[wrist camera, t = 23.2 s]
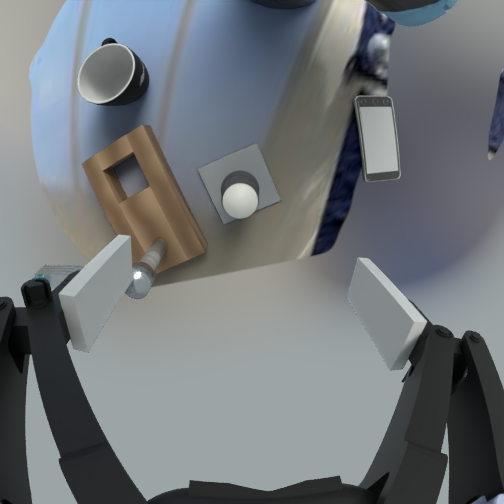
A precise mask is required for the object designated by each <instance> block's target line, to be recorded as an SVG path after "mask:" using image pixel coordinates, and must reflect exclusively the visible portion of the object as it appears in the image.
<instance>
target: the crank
mask: <svg viewBox="0 0 504 504" xmlns="http://www.w3.org/2000/svg"><path fill="white" fill-rule="evenodd" d="M84 267H85V266H66V265H44V266H43V267H42V268H41V269H40V270H39V271H37V272H36V273H35V277H34V278H33V279H35V278H45V279H47V280H48V281H49V282H50V287H51V288H56V287H57V286H58V285H60V283H61V282H62V281H64V279H65V278H66V277H67V276H68V275H69V274H71V273H73V272H75V271H77V270H80V271H81V270H82V269H83V268H84ZM132 271H133V280H132V282H131V283H130V285H129V286H128V288H127V290H126V291H125V293H126V294H127V295H128V296H129V297H131V298H134V299H141V298H144V297H145V296H146V295H147V294H148V291H149V290H150V288H151V286H152V284H153V282H154V280H155V272H154V270H153V268H152V267H151V266H150V265H149V264H147V263H145V262H142V261H138V262H135V263H133V264H132Z"/></svg>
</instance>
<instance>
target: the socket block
mask: <svg viewBox="0 0 504 504" xmlns="http://www.w3.org/2000/svg"><path fill="white" fill-rule="evenodd" d="M133 155H135V156H136V158H137V160H138V163H139V165H140V167H141V169H142V171H143V173H144V175H145V177H146V179H147V181H148V183H149V185H150V187H148V188H146V189H144V190H142V191H140V192H139V193H137V194H135V195H133V196H131V197H130V198H127V196H126V194H125V192H124V190H123V188H122V186H121V184H120V182H119V180H118V178H117V176H116V173H115V171H114V169H113V167H115V166H117V165H118V164H120V163H121V162H123V161H125V160H126V159H128V158H130V157H131V156H133ZM82 166H83V168H84V170H85V173H86V175H87V177H88V179H89V181H90V183H91V185H92V188H93V190H94V192H95V194H96V196H97V198H98V200H99V202H100V204H101V206H102V208H103V210H104V212H105V214H106V216H107V218H108V219H109V221H110V223H111V225H112V227H113V229H114V231H115V232H116V234H117V236H118V235H127V236H131V254H132V262H133V263H135V262H138V261H142V262H145V263H147V264H149V265H150V266H151V267H152V268H153V270H154V272H155V274H157V273H160V272H162V271H164V270H166V269H169V268H171V267H173V266H176V265H178V264H180V263H182V262H185V261H187V260H189V259H192V258H194V257H196V256H199V255H201V254H203V253H205V251H206V247H207V242H206V240H205V238H204V236H203V234H202V232H201V230H200V228H199V226H198V224H197V222H196V220H195V218H194V216H193V214H192V212H191V210H190V208H189V206H188V204H187V202H186V200H185V198H184V196H183V194H182V192H181V190H180V188H179V186H178V184H177V181H176V179H175V177H174V175H173V173H172V171H171V169H170V167H169V165H168V163H167V161H166V158H165V156H164V154H163V152H162V150H161V148H160V146H159V144H158V141H157V139H156V137H155V135H154V133H153V131H152V128H151V126H149V125H141V126H139V127H138V128H136V129H134V130H132V131H131V132H129V133H127V134H126V135H124V136H123V137H121V138H119V139H118V140H116V141H115V142H113V143H112V144H110V145H108V146H107V147H105V148H104V149H102V150H101V151H99V152H98V153H97V154H95V155H94V156H92V157H91V158H89V159H88V160H86V161H85V162H84V163H82Z"/></svg>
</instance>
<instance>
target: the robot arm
mask: <svg viewBox="0 0 504 504" xmlns="http://www.w3.org/2000/svg"><path fill="white" fill-rule="evenodd" d="M251 1H253V2H255V3H258V4H260V5H263V6H267V7H271V8H278V9H292V8H298V7H302V6H305V5H307V4H309V3H311V2H312V1H314V0H251ZM365 1H366V2H368V3H369V4H371V5H372V6H373V7H374V9H376V10H377V11H378V12H380V13H383V14H385V15H386V16H388V17H389V18H390V19H392V20H393V21H395V22H396V23H398V24H400V25H404V26H408V27H413V26H419V25H423V24H426V23H428V22H431V21H433V20H435V19H437V18H439V17H440V16H442V15H443V14H445V13H446V12H445V11H446V10H448V9H451V8H452V7H453V6H454V5H455V3H456V2H457V0H365ZM132 280H133V271H132V254H131V236H127V235H118V236H117V237H116V238H115V239H113V240H112V241H111V242H110V243H109V244H108V245H107V246H106V247H105V248H104V249H103V250H102V251H101V252H100V253H98V254H97V255H96V256H95V257H94V258H93V259H92V260H91V261H90V262H89V263H88V264H87V265H86V266H85V267H84V268H83V269H82V270H81V271H80V270H77V271H75V272H73V273H71V274H69V275H68V276H67V277H66V278H65V279H64V281H62V282H61V283H60V285H58V286H57V287H56V288H55V289H54V290H53V291H51V287H50V282H49V281H48V280H47V279H45V278H35V279H32V280H29V281H28V282H25V283H24V284H23V285H22V287H21V292H22V296H23V299H24V303H25V306H26V307H17V308H16V307H14V304H13V301H12V299H11V298H9V297H0V504H32V499H31V491H30V485H29V478H28V469H27V457H26V440H25V405H26V386H27V385H26V384H27V375H28V365H29V357H30V354H31V355H32V358H33V364H34V368H35V373H36V378H37V382H38V387H39V391H40V394H41V398H42V402H43V406H44V409H45V413H46V416H47V419H48V422H49V425H50V428H51V431H52V434H53V437H54V440H55V442H56V445H57V448H58V450H59V453H60V456H61V458H60V459H59V464H60V467H61V470H62V472H63V474H64V477H65V479H66V481H67V483H68V485H69V487H70V489H71V491H72V493H73V495H74V497H75V499H76V501H77V503H78V504H436V502H437V499H438V496H439V493H440V489H441V485H442V482H443V478H444V475H445V471H446V467H447V462H448V456H447V455H446V454H443V453H441V448H442V444H443V439H444V434H445V429H446V423H447V428H448V443H449V504H504V389H503V386H502V383H501V381H500V378H499V375H498V372H497V370H496V367H495V365H494V362H493V360H492V357H491V355H490V353H489V350H488V348H487V345H486V343H485V341H484V339H483V338H482V337H481V336H480V334H479V333H477V332H473V331H466V332H465V334H464V335H463V337H462V339H459V338H454V336H453V334H452V332H451V331H450V330H448V329H447V328H445V327H443V326H440V325H432V323H431V322H430V321H429V320H428V319H427V318H426V317H425V316H424V314H423V313H422V312H421V311H420V310H419V309H418V308H417V307H416V305H415V304H414V303H413V302H411V301H410V300H409V299H407V298H406V297H405V296H404V295H403V294H402V293H401V292H400V291H399V290H398V289H397V287H396V286H395V285H394V284H393V283H392V282H391V281H390V280H389V279H388V278H387V277H386V276H385V275H384V274H383V273H382V272H381V271H380V270H379V269H378V268H377V267H376V265H375V264H374V263H373V262H372V261H370V259H367V258H358V259H357V263H356V267H355V270H354V273H353V277H352V281H351V284H350V287H349V290H348V294H347V299H348V301H349V303H350V304H351V306H352V307H353V309H354V310H355V312H356V314H357V316H358V317H359V319H360V320H361V322H362V324H363V325H364V327H365V329H366V330H367V332H368V333H369V335H370V337H371V338H372V340H373V342H374V344H375V345H376V347H377V349H378V351H379V352H380V354H381V356H382V357H383V359H384V361H385V362H386V364H387V366H388V368H389V370H390V371H391V370H399V369H403V368H404V366H405V364H406V362H407V360H408V359H409V361H410V362H411V364H412V365H411V367H410V368H409V370H408V372H407V373H406V375H405V377H404V378H403V380H402V382H404V381H405V383H404V386H403V389H402V392H401V395H400V398H399V400H398V403H397V406H396V409H395V411H394V414H393V417H392V419H391V422H390V424H389V427H388V429H387V432H386V434H385V436H384V439H383V441H382V443H381V445H380V448H379V450H378V452H377V454H376V456H375V458H374V460H373V462H372V465H371V466H370V468H369V470H368V472H367V474H366V476H365V478H364V480H363V481H362V482H361V483H360V485H359V486H355V485H350V484H343V483H342V482H341V479H340V476H335V477H329V478H322V479H314V480H306V481H303V482H300V483H297V484H294V485H291V486H287V487H284V488H281V489H277V490H273V491H263V490H257V489H252V488H247V487H243V486H238V485H234V484H230V483H216V482H202V481H192V480H190V484H189V488H181V489H176V490H172V491H168V492H165V493H162V494H160V495H157V496H155V497H154V498H152V499H150V500H148V501H146V499H145V498H144V497H143V495H142V494H141V493H140V491H139V490H138V488H137V487H136V486H135V484H134V483H133V481H132V480H131V478H130V477H129V475H128V474H127V472H126V471H125V469H124V467H123V466H122V464H121V463H120V461H119V459H118V458H117V456H116V454H115V453H114V451H113V449H112V447H111V446H110V444H109V442H108V440H107V438H106V437H105V435H104V433H103V431H102V429H101V427H100V425H99V423H98V421H97V419H96V417H95V415H94V413H93V411H92V409H91V406H90V404H89V402H88V400H87V398H86V395H85V393H84V391H83V388H82V386H81V383H80V381H79V378H78V376H77V373H76V371H75V368H74V366H73V363H72V360H71V357H70V354H69V351H68V349H67V345H66V344H67V343H68V341H69V340H70V339H71V342H72V346H73V349H75V350H79V351H83V352H88V353H89V351H90V349H91V347H92V345H93V344H94V342H95V340H96V339H97V337H98V335H99V333H100V331H101V330H102V328H103V327H104V325H105V323H106V322H107V320H108V318H109V317H110V315H111V313H112V312H113V310H114V308H115V307H116V305H117V304H118V302H119V300H120V299H121V297H122V296H123V294H124V293H125V291H126V290H127V288H128V286H129V285H130V283H131V282H132ZM466 374H467V375H466ZM465 375H466V377H465Z"/></svg>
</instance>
